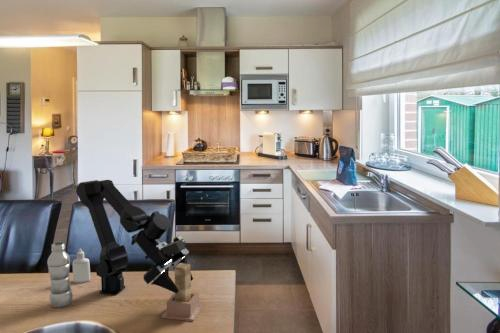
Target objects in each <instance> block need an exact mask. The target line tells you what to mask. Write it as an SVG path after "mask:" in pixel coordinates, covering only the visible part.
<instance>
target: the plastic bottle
mask: <svg viewBox="0 0 500 333" xmlns="http://www.w3.org/2000/svg"><path fill="white" fill-rule="evenodd" d="M65 249H66V246H65V242H64V241H57V242H53V243H52V244H51V251H52V252H51V254H50V255H49V256H48V258H47V260H46V261H47V268H48V272H49V277H50V278H49V279H50V294H49V302H50V305H51V306H53V308H62V307H66V306H68V305H70V304H71V303H72V301H73V298H74V297H73V296H74V294H73V291H72V286H71V281H70V265H71V258H70V255H69V254H68V252H66V251H65Z"/></svg>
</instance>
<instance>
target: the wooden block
mask: <svg viewBox="0 0 500 333" xmlns="http://www.w3.org/2000/svg"><path fill="white" fill-rule="evenodd" d="M174 267H175V269H174V284H175V285H176V287H177V288H178V290H179V292H178V293H175V301H182V302H189V301H190V300H191V292H192V281H191V274H192V273H191V268H192V266H191V263H187V264H184V263H179V264H178V265H177V266H175V265H174Z"/></svg>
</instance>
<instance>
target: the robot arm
mask: <svg viewBox="0 0 500 333" xmlns="http://www.w3.org/2000/svg"><path fill="white" fill-rule="evenodd" d="M75 193H76V195H77V196H78V198H79V202H80V203H81V204H82V205H84V207H86V208H87V209H88V212H89V215H90V217H91V220H92V224H93V226H94V230H95V233H96V235H97V238H98V241H99V245H100V247H101V250H100V253H99V261H100V263H99V264H98V266H96V268H95V273H96V276H98V277H100V280H101V281H100V282H101V289H100V290H99V292H98V293H99V294H102V295H103V294H104V295H114V296H117V295H118V294H119V293H120V292H122V291H123V290H124V289H125V288H126V285H125V277H124V276H123V272H126V271H127V269H128V268H127V267H128V264H129V257H128V256H129V254H128V253H127V251H126V247H125V245H124V244H122V245H120V244H119V243H118V242H117V241H116V236H115V234H114V232H113V229H112V225H111V222H110V220H109V217H108V214H107V211H106V207H105V205H104V200H105V201H106V202H107V203H108V204H109V205H110V206H111V208H112V209H113V210H114V211H115V212H116V213H117V215H118V216H119V223H120V224H121V226H122V228H123V229H124V230H125V232H127V233H135V232H137V233H135V234H133V235H132V236H131V245H132V246H134V245H136V244H137V245H138V247H139V248H140V249H141V250H142V251H143V253H144V254H145V255H146V256H144V259H146V261H147V260H150V261H151V262H152V264H153V265H152V266H151V267H150V269H148V270H147V271H146V272H145V274H143V281H144V282H145V283H146V284H147V285H150V284H151V286H153V285H154V286H157V287H161V288H164V289H166V290H168V291H170V292H172V293H173V294H174V293H178V292H179V290H178V288H177V287H176V285H175V281H174V280H173V279H172V278H171V277H170V275H169V268H168V267H170V266H173V268H172V269H173V270H175V266H177V265H178V264H179V263H184V264H188V258H189V253H190V251H189V250H188V249H187V248H186V247H185V246H186V240H184V238H183V237H182V236H181V235H178V236H176V237H175V238H173V241H172V242H171V243H167V241H163V242H161V240H160V239H161V238H162V237H163V236H164V234H165V233H166V232H167V231H168V230H169V229H170V228H171V226H172V222H171V220H170V218H169V217H168V216H167V215H165V214H163V213H160V211H159V210H155V211H153V212H151V214H150V215H148V213H147V212H146V211H145V210H143V209H142V208H141V207H138V206H135V205H133V204H131V203H130V201H129V200H128V199H127V197H125V196H124V195H123V194H122V193H121V192H120V191H119V189H118V188H117V187H116V186H115V184H114V182H113V180H111V179H103V180H98V179H94V180H89V181H88V180H87V181H82V182H79V183H78V185H77V186H76V188H75ZM193 280H194V276H193V275H192V273H191V282H192V281H193Z"/></svg>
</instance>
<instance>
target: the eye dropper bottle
mask: <svg viewBox="0 0 500 333" xmlns="http://www.w3.org/2000/svg"><path fill="white" fill-rule="evenodd" d="M90 280H91V266H90V259H89V258H86V257H85V252H84V251H83V250H82V248H79V249H78V252H76V258H75V259H74V260H73V261H72V282H73V283H76V284H77V283H78V284H79V283H80V284H81V283H82V284H83V283H87V282H89V281H90Z"/></svg>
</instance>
